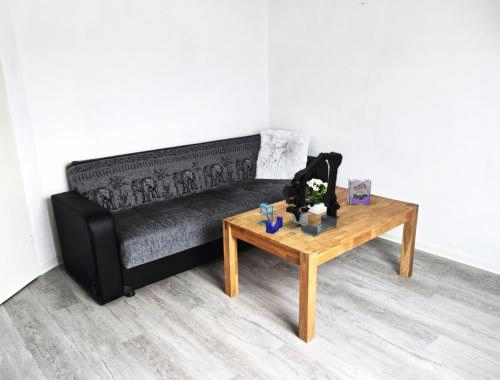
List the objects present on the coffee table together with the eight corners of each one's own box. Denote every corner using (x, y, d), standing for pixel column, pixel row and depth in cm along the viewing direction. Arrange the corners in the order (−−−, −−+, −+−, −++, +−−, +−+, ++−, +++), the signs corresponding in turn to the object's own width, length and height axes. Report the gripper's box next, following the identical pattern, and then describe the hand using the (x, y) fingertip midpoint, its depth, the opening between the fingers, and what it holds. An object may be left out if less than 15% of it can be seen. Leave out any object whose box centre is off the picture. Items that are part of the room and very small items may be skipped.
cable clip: (272, 234, 221) (272, 224, 219) (265, 232, 223) (265, 222, 222) (284, 227, 230) (284, 217, 228) (278, 226, 232) (278, 216, 231)
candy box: (348, 205, 265) (349, 180, 260) (346, 202, 271) (348, 178, 266) (369, 204, 265) (371, 180, 260) (367, 202, 270) (369, 178, 266)
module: (296, 219, 237) (297, 209, 235) (307, 223, 231) (308, 213, 229) (292, 221, 234) (292, 211, 232) (303, 225, 228) (303, 215, 227)
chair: (276, 222, 237) (276, 203, 233) (266, 226, 231) (266, 206, 228) (267, 219, 242) (267, 200, 239) (256, 223, 237) (256, 203, 234)
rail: (323, 222, 236) (323, 214, 234) (336, 226, 229) (336, 218, 228) (301, 232, 222) (301, 223, 221) (314, 236, 216) (314, 227, 215)
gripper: (300, 188, 239) (299, 213, 244) (278, 195, 227) (278, 221, 232) (315, 192, 232) (314, 217, 236) (293, 199, 219) (293, 226, 224)
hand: (300, 220), depth 232 cm, fingers closed on module, 4 cm apart
